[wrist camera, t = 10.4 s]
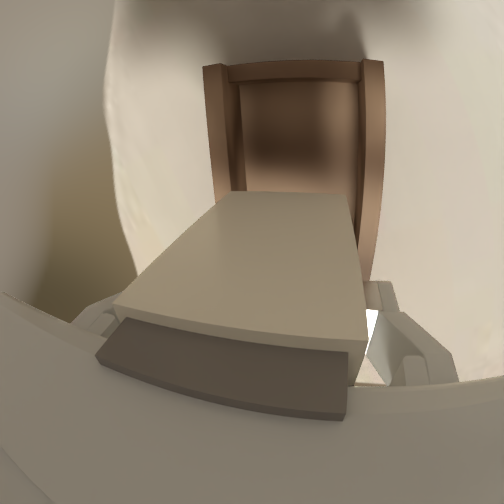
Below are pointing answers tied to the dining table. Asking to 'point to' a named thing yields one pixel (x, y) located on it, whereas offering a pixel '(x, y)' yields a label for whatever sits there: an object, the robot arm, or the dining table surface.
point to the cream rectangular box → (251, 308)
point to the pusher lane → (302, 134)
